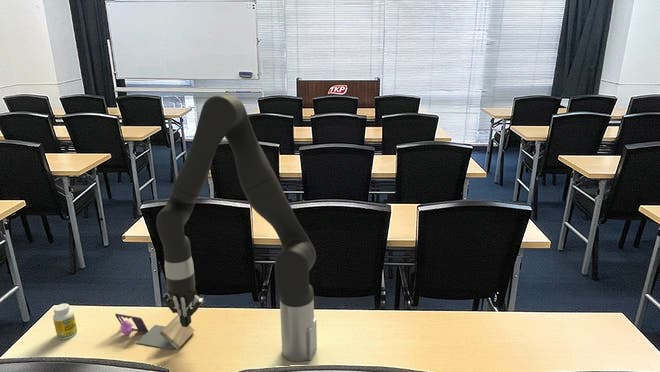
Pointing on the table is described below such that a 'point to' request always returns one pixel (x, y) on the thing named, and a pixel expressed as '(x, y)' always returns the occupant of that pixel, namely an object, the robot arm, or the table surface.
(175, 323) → the tile
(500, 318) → the table surface
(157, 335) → the felt mat
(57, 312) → the supplement bottle
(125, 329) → the purple toy case
